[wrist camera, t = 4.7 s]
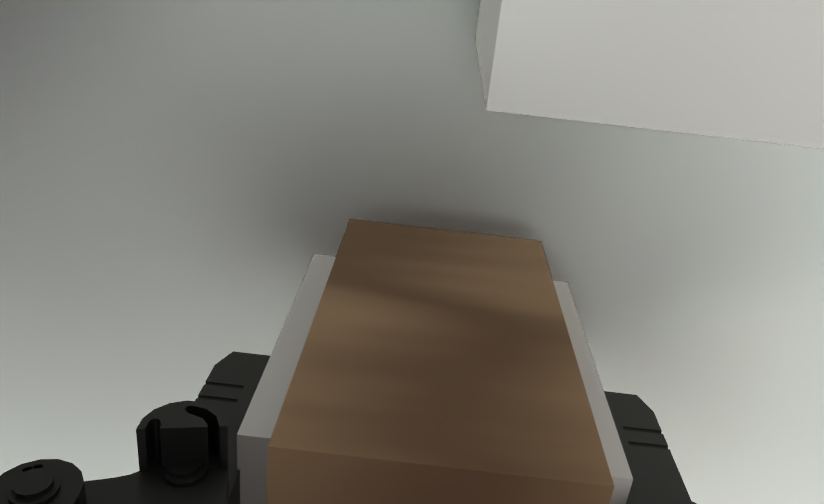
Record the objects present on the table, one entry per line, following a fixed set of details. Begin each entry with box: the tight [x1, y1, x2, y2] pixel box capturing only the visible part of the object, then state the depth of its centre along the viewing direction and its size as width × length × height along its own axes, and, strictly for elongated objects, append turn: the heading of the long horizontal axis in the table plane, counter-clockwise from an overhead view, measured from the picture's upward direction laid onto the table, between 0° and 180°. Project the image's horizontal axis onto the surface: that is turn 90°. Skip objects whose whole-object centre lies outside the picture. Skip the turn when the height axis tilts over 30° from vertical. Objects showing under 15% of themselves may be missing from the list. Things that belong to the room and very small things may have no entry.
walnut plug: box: [267, 219, 614, 504], centre depth 14 cm, size 4×4×8 cm
